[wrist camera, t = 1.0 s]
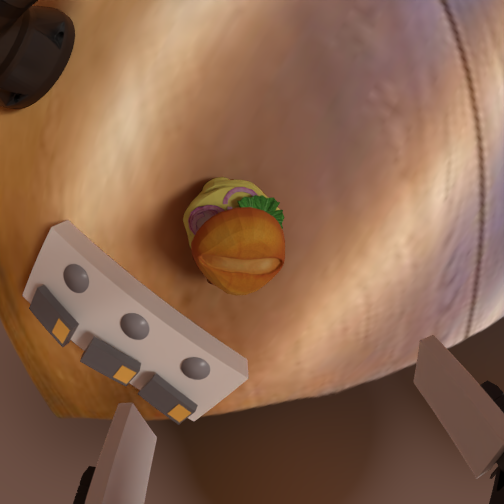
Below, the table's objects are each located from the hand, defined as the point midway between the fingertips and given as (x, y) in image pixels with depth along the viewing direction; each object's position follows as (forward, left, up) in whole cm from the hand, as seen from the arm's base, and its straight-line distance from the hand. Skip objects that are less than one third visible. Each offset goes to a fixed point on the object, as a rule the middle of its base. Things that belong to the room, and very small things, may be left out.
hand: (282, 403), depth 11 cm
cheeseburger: (-3, +1, -24) cm, 24 cm away
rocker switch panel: (-5, -18, -24) cm, 30 cm away
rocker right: (+4, -21, -19) cm, 29 cm away
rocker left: (-14, -21, -19) cm, 32 cm away
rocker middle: (-5, -21, -19) cm, 29 cm away
